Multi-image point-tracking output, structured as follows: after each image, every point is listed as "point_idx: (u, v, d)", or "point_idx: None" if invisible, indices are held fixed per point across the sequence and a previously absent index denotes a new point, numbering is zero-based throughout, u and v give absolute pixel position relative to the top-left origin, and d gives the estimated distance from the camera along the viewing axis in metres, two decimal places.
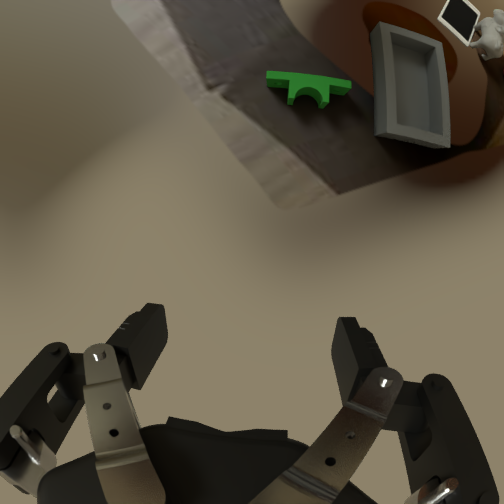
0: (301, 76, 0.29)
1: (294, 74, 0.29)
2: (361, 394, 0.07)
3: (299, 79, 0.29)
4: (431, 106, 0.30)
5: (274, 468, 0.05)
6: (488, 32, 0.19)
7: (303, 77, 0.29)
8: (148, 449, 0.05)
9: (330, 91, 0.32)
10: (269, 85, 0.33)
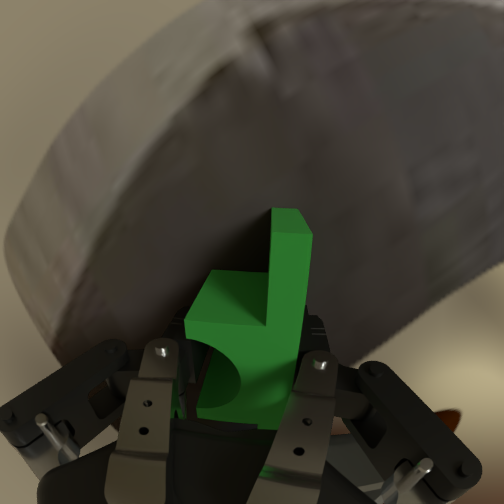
0: (283, 363, 0.09)
1: (294, 342, 0.08)
2: (301, 381, 0.07)
3: (270, 357, 0.09)
4: None
5: None
6: None
7: (279, 369, 0.09)
8: (174, 454, 0.05)
9: None
10: None
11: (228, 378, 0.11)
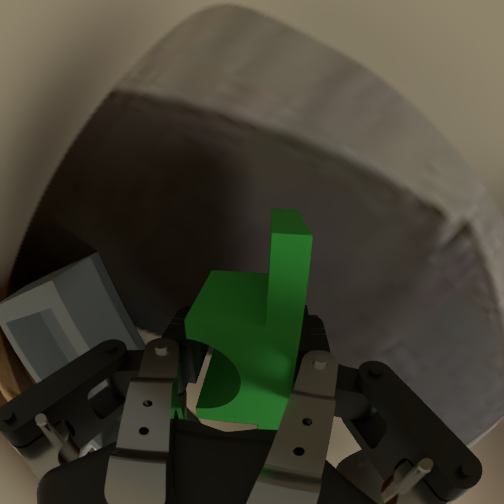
0: (282, 364, 0.09)
1: (293, 342, 0.08)
2: (301, 381, 0.07)
3: (270, 358, 0.09)
4: (56, 354, 0.18)
5: None
6: None
7: (278, 369, 0.09)
8: (174, 455, 0.05)
9: None
10: (271, 220, 0.11)
11: (228, 378, 0.11)
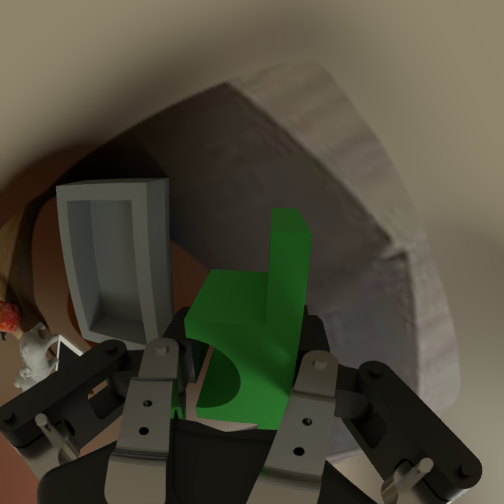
0: (282, 363, 0.09)
1: (293, 341, 0.08)
2: (301, 381, 0.07)
3: (270, 357, 0.09)
4: (88, 240, 0.26)
5: None
6: (38, 362, 0.30)
7: (278, 368, 0.09)
8: (174, 455, 0.05)
9: None
10: None
11: (228, 378, 0.11)
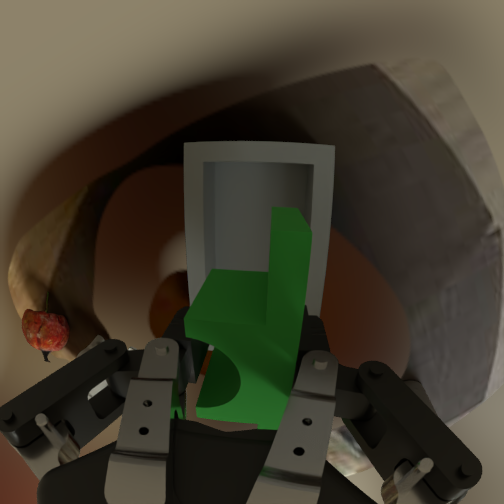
0: (283, 362, 0.09)
1: (294, 340, 0.08)
2: (301, 381, 0.07)
3: (270, 356, 0.09)
4: (212, 220, 0.24)
5: None
6: (102, 386, 0.27)
7: (279, 368, 0.09)
8: (174, 455, 0.05)
9: None
10: None
11: (228, 377, 0.11)
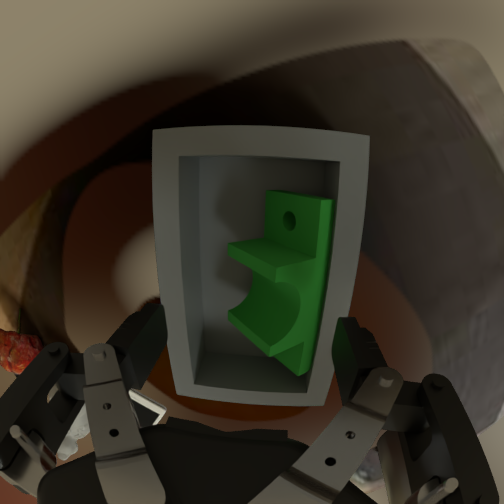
0: (321, 282, 0.15)
1: (326, 264, 0.14)
2: (361, 394, 0.07)
3: (315, 279, 0.14)
4: (196, 236, 0.17)
5: (274, 468, 0.05)
6: (79, 418, 0.21)
7: (318, 287, 0.15)
8: (148, 449, 0.05)
9: None
10: (275, 197, 0.16)
11: (269, 320, 0.16)
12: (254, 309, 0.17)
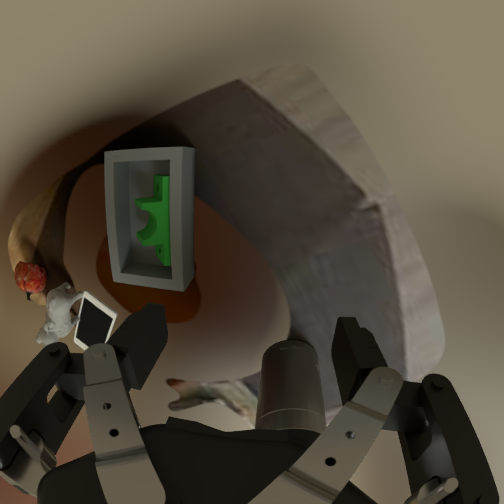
0: (168, 213, 0.32)
1: None
2: (361, 394, 0.07)
3: (164, 211, 0.31)
4: (126, 197, 0.34)
5: (274, 468, 0.05)
6: (62, 316, 0.38)
7: (167, 215, 0.32)
8: (148, 449, 0.05)
9: None
10: (155, 177, 0.33)
11: (148, 232, 0.33)
12: (146, 230, 0.34)
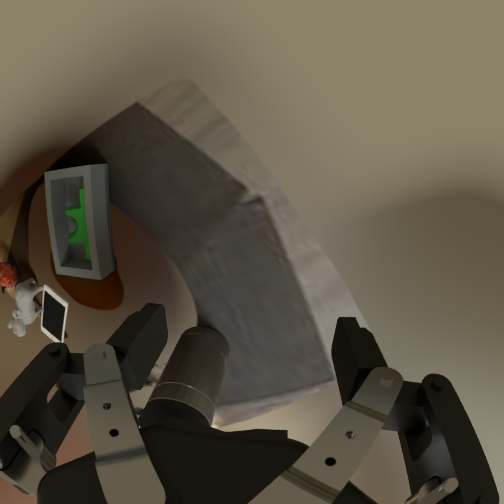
0: (85, 217, 0.36)
1: None
2: (361, 394, 0.07)
3: (82, 216, 0.36)
4: (63, 206, 0.39)
5: (274, 468, 0.05)
6: (27, 305, 0.42)
7: (85, 219, 0.36)
8: (148, 449, 0.05)
9: None
10: None
11: (74, 233, 0.37)
12: (74, 231, 0.38)
